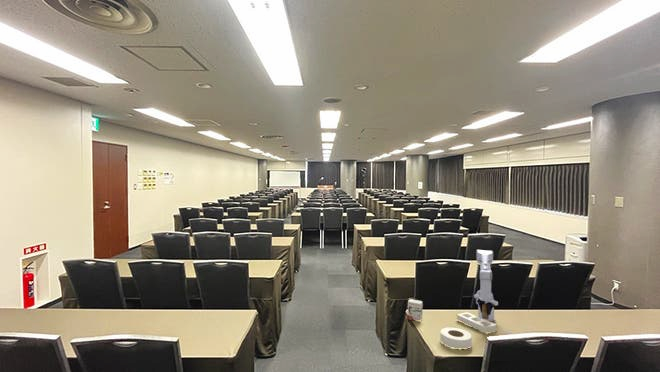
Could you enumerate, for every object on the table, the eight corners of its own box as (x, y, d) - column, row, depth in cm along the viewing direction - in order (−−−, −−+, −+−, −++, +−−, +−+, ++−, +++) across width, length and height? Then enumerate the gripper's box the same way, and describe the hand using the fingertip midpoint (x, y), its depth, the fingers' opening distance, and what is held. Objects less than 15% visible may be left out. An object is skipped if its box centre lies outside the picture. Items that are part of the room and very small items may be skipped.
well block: (466, 318, 209) (466, 312, 209) (496, 331, 191) (496, 324, 191) (456, 320, 205) (456, 314, 205) (486, 334, 187) (486, 327, 187)
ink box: (407, 319, 207) (407, 301, 207) (409, 316, 211) (409, 298, 211) (420, 322, 203) (421, 303, 203) (422, 319, 207) (422, 301, 207)
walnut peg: (484, 316, 194) (485, 303, 194) (489, 318, 191) (490, 305, 191) (480, 317, 193) (480, 304, 193) (485, 319, 190) (485, 306, 190)
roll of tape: (435, 337, 183) (435, 327, 183) (462, 336, 185) (462, 326, 185) (448, 351, 168) (448, 340, 168) (477, 350, 169) (477, 339, 169)
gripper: (470, 288, 197) (470, 310, 197) (492, 295, 184) (492, 319, 184) (478, 286, 200) (478, 308, 200) (500, 293, 187) (500, 317, 187)
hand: (485, 313), depth 192 cm, fingers closed on walnut peg, 3 cm apart
